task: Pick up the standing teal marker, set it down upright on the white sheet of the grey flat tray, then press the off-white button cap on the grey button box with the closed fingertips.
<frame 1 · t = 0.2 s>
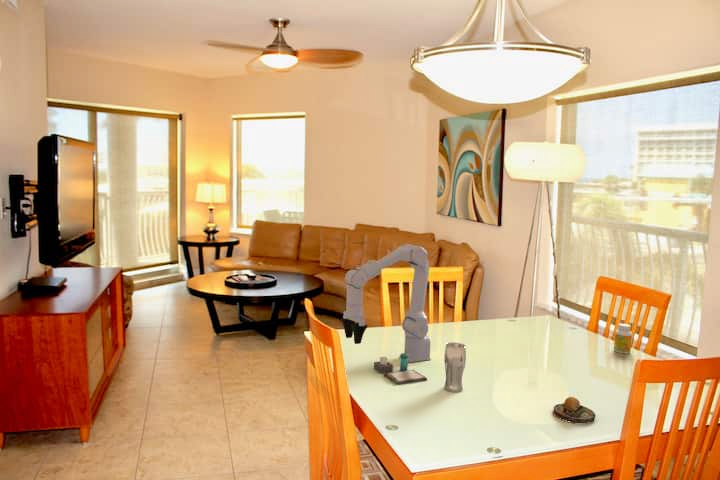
hand: (353, 340, 210), 10 cm above the table, tool pointing down, fingers open, 7 cm apart
grey flat tray: (405, 378, 202), on the table
dark base with ball: (573, 417, 176), on the table
button cap: (383, 362, 209), point 3 cm above the table, slide at 0.0 cm
beer glass: (453, 389, 194), on the table
marker: (403, 370, 210), on the table
button box: (383, 370, 209), on the table
supplement bottle: (621, 351, 243), on the table
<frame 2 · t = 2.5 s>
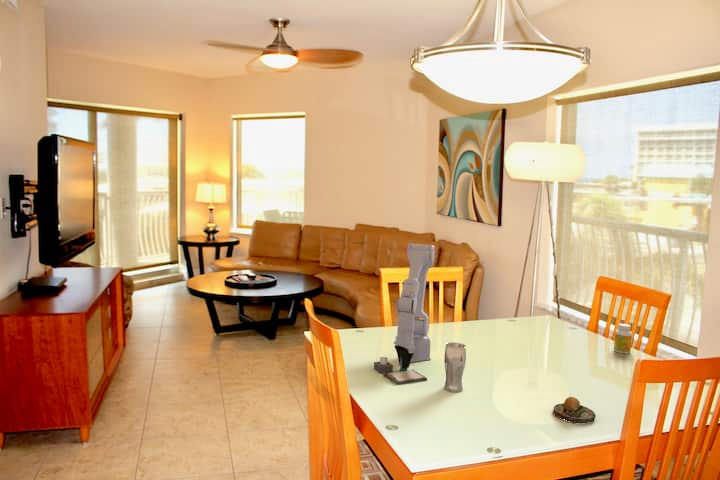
hand: (403, 366, 210), 1 cm above the table, tool pointing down, fingers closed on marker, 3 cm apart
marker: (403, 370, 210), on the table, touching gripper
everything else where it was.
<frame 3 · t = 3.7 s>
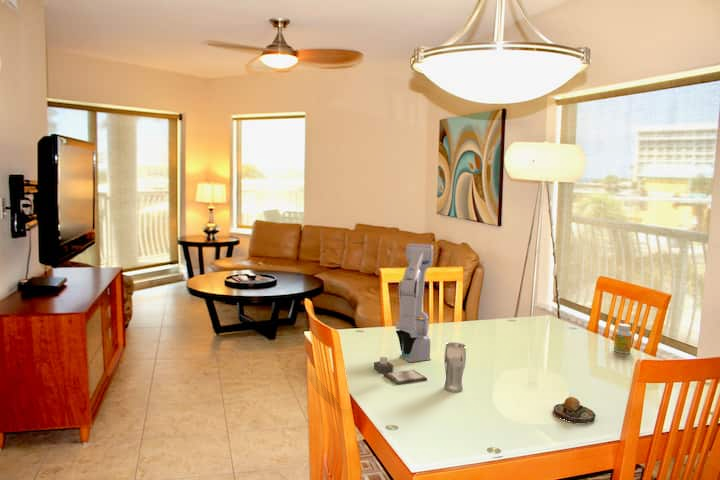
hand: (405, 352, 203), 9 cm above the table, tool pointing down, fingers closed on marker, 3 cm apart
marker: (405, 356, 203), point 7 cm above the table, touching gripper
everything else where it was.
when the fingers open (3 cm above the table, at t = 5.1 s): marker stays where it is, resting on grey flat tray.
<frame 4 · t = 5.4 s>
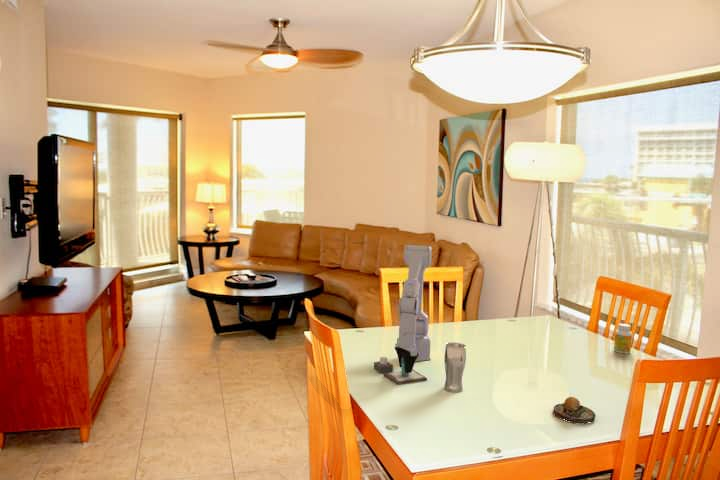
hand: (405, 369, 202), 3 cm above the table, tool pointing down, fingers open, 5 cm apart
marker: (405, 375, 202), point 1 cm above the table, touching grey flat tray
everything else where it was.
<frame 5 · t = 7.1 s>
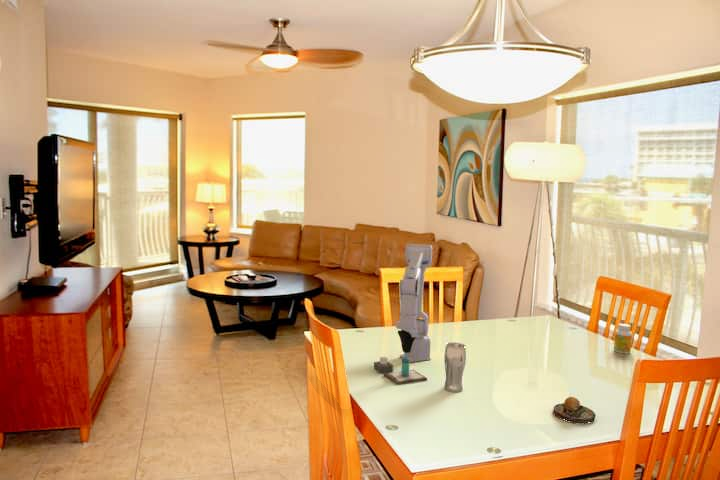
hand: (406, 351, 201), 9 cm above the table, tool pointing down, fingers closed
nothing on the table moved.
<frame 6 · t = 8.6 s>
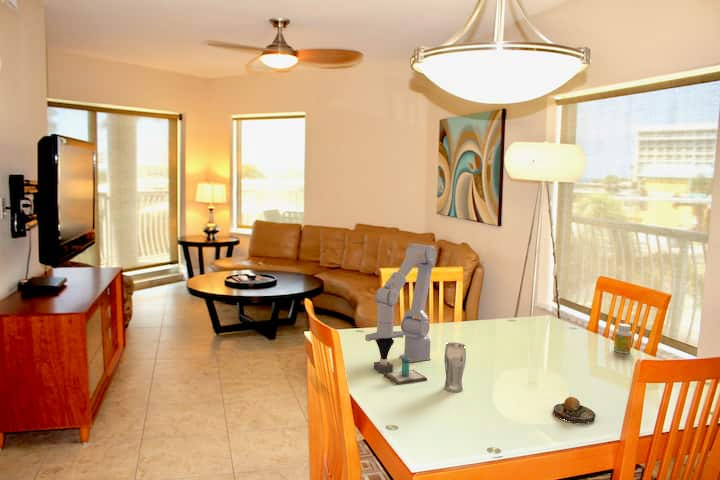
hand: (383, 358, 208), 4 cm above the table, tool pointing down, fingers closed, pressing on button cap
button cap: (383, 362, 209), point 3 cm above the table, slide at -0.1 cm, touching gripper
everything else where it was.
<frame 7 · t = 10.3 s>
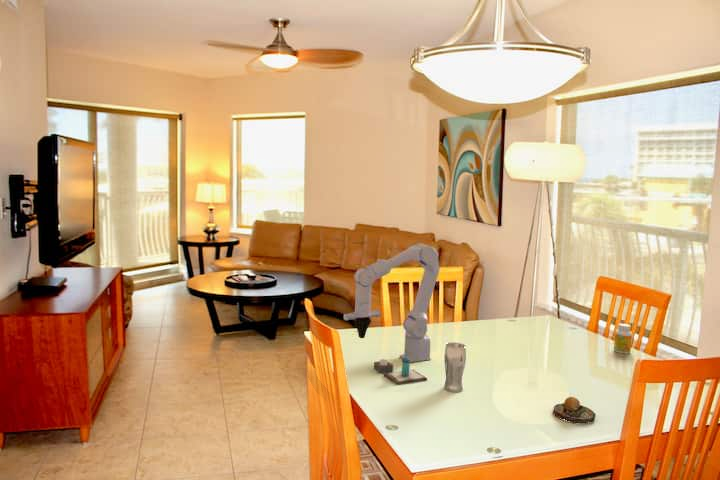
hand: (361, 337, 216), 9 cm above the table, tool pointing down, fingers closed
button cap: (383, 364, 209), point 2 cm above the table, slide at -0.9 cm
everything else where it was.
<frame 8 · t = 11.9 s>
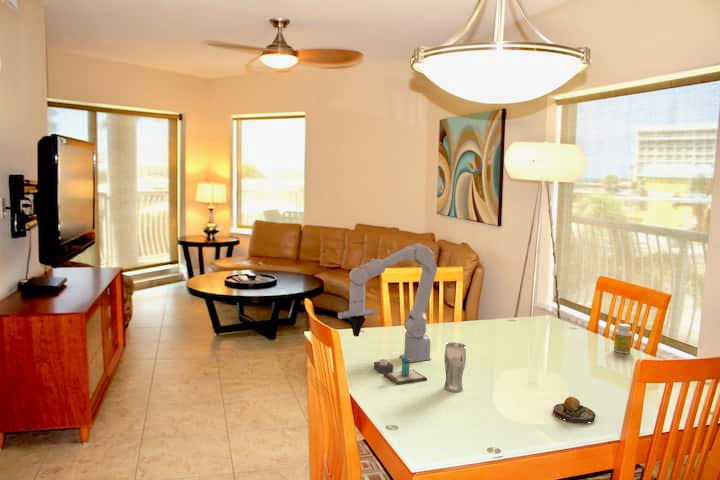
hand: (355, 335, 218), 9 cm above the table, tool pointing down, fingers closed
nothing on the table moved.
at the end: marker inside the target area on the grey flat tray (0.0 cm from its centre), point 1.1 cm above the grey flat tray's base; marker tilted 3°; button cap slide at -0.9 cm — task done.
